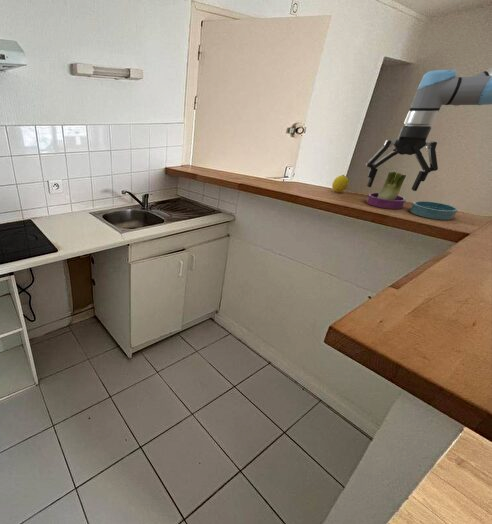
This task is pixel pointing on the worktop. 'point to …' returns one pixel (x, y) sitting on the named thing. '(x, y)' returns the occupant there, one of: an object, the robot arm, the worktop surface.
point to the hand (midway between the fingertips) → (390, 188)
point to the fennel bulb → (391, 186)
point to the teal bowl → (433, 210)
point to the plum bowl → (385, 202)
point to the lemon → (340, 183)
